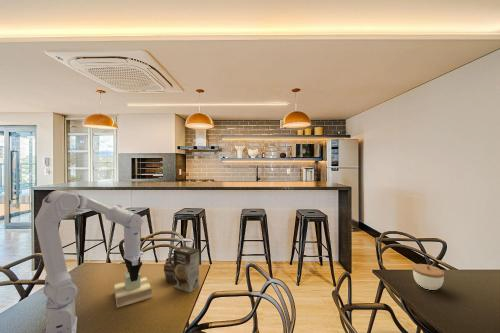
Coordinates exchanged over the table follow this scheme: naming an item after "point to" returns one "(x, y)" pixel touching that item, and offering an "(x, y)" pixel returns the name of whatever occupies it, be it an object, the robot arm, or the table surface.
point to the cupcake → (169, 269)
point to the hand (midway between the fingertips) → (132, 276)
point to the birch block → (132, 293)
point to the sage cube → (129, 284)
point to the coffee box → (186, 268)
